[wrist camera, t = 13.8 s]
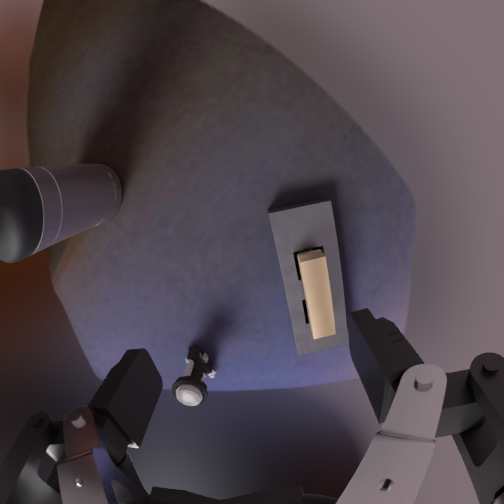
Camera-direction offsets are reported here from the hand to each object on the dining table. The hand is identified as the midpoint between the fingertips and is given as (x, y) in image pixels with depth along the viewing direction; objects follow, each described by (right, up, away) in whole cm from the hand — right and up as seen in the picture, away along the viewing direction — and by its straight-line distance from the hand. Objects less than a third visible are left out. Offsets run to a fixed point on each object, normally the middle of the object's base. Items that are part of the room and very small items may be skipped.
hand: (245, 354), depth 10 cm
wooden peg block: (+9, 0, +29) cm, 30 cm away
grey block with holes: (+9, 0, +29) cm, 30 cm away
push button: (-8, -15, +34) cm, 38 cm away
